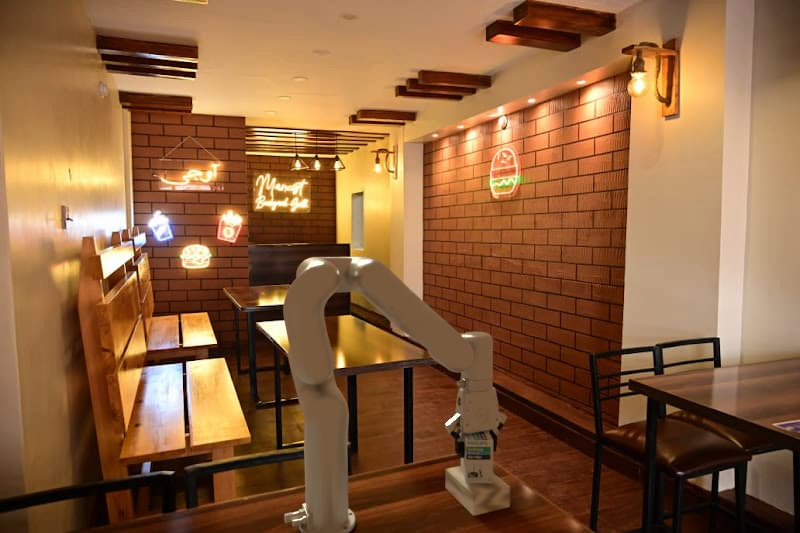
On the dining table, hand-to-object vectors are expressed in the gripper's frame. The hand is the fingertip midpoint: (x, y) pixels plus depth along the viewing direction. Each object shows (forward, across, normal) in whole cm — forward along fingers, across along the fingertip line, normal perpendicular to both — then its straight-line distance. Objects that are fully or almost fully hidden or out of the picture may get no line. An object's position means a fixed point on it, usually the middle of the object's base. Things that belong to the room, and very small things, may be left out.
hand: (476, 452), depth 128 cm
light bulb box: (+6, 0, 0) cm, 6 cm away
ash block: (+11, 0, 0) cm, 11 cm away
